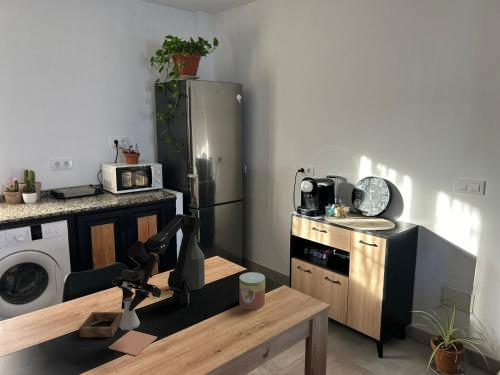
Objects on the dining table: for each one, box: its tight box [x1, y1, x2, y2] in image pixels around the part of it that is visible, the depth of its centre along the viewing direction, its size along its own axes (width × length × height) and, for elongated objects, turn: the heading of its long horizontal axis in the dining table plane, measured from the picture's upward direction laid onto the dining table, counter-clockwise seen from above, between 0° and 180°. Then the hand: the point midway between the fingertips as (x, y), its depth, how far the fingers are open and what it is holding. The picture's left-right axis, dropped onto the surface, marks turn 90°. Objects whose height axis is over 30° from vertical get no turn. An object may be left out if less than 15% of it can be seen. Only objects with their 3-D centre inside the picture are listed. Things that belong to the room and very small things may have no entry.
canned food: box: [238, 271, 266, 310], centre depth 166 cm, size 11×11×12 cm
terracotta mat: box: [107, 329, 158, 357], centre depth 137 cm, size 12×12×1 cm
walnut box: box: [78, 311, 124, 338], centre depth 146 cm, size 12×12×4 cm
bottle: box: [187, 234, 206, 291], centre depth 181 cm, size 10×10×30 cm
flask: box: [118, 297, 141, 331], centre depth 135 cm, size 7×7×10 cm
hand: (126, 309), depth 134 cm, fingers closed on flask, 3 cm apart
